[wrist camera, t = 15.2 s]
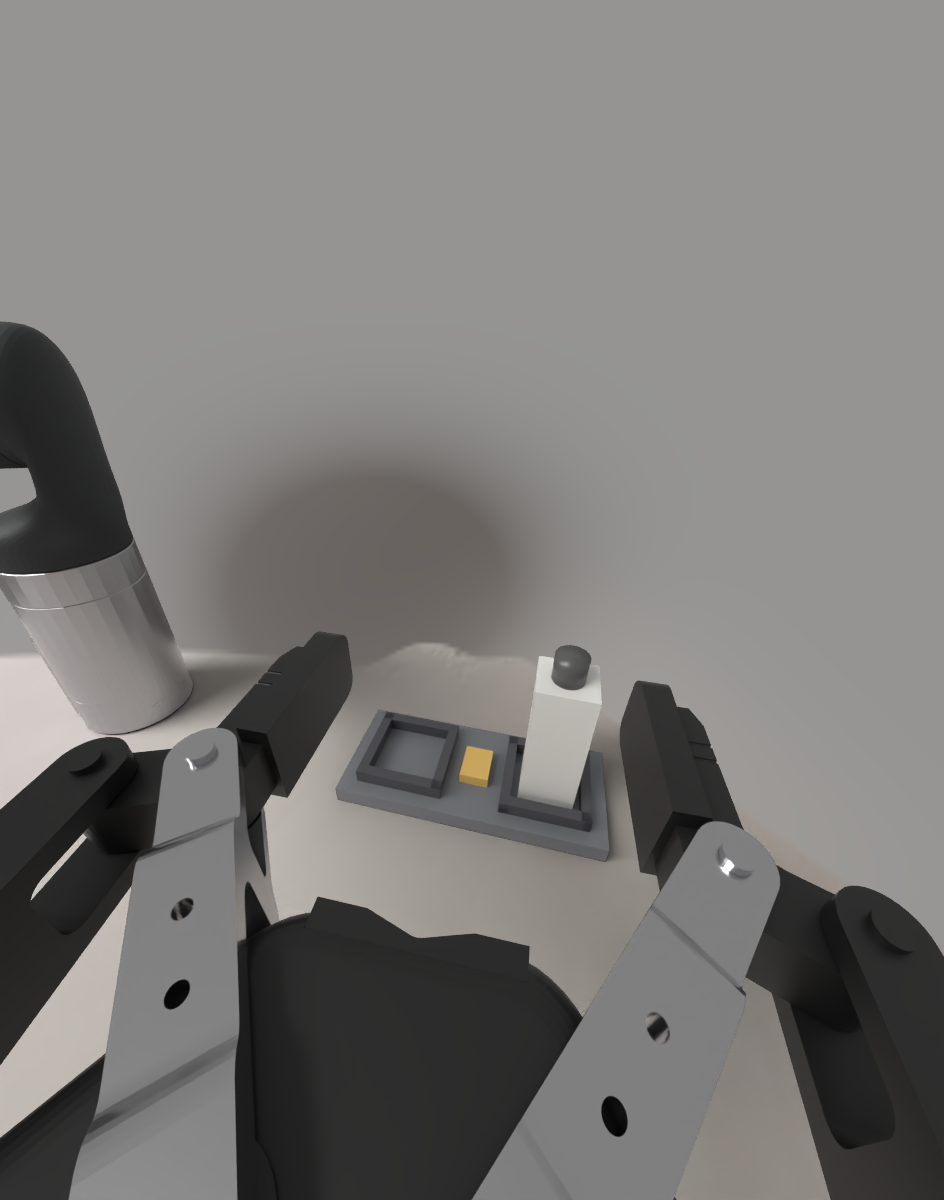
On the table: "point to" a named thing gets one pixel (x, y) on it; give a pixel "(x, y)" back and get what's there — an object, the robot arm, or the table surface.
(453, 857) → the table surface
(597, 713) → the plug
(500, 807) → the power strip
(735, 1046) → the table surface
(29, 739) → the table surface
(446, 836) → the table surface
